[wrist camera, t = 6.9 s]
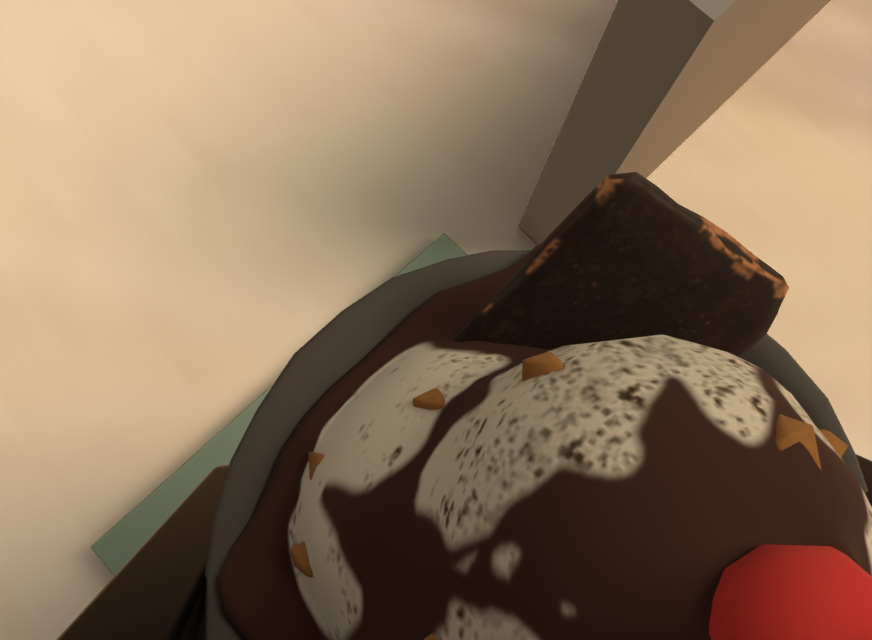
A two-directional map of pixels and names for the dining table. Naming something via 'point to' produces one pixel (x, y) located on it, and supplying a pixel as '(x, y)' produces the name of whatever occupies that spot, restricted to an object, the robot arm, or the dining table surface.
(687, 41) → the partition board
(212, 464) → the rubber mat
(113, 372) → the dining table surface
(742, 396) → the sundae
